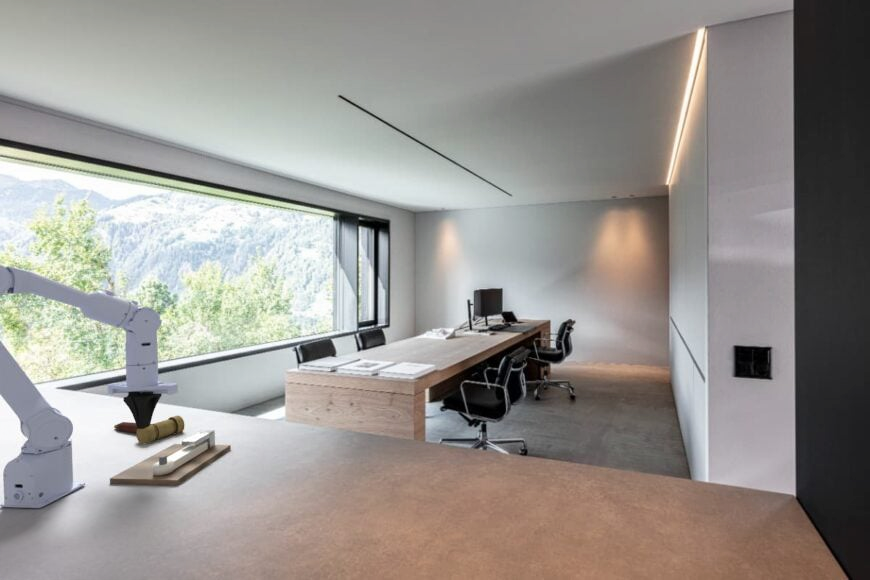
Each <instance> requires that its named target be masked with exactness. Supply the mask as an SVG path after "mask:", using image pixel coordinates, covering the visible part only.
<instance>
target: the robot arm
mask: <svg viewBox="0 0 870 580" xmlns="http://www.w3.org/2000/svg"><path fill="white" fill-rule="evenodd" d="M5 294H8V295H9V294H11V295H13V294H15V295H17V294H32V295H36V296H39V297H42V298H46V299H49V300H52V301H55V302H59V303H62V304H66V305H68V306H71V307H75V308H79V309H80V311H81V314H82V316H83V317H84V318H87V319H89V320H92V321H96V322H99V323H102V324H105V325H108V326H111V327H114V328H117V329H118V328H119V329H121V328H122V329H123V330H124V331H125V344H124V345H125V375H126V376H125V379H126V381H125V382H114V383H110V384H108V385H107V395H110V394H111V395H114V394H127V396H125V397H123V402H124V404H125V405H126V406H127V407H128V408H129V411H130V413H131V414H132V417H133V419H134V421H135V422H134V423H136V425H137V429H144V428H147V427H149V426H150V424H152V423H151V422H152V419H153V415H154V412H155V410H156V407H157V405H158V402H159V400H161V397H162V394H163V395H165V394H167V395H174V394H177V393H178V392H179V391H178V383H172V382H171V383H170V382H166V381H165V382H163V381H160V380H159V357H158V355H159V353H158V352H159V351H158V330H159V329H160V328H161V326H162V322H163V320H162V319H161V317H160V314H159V313H158V312H157V311H156V310H155V309H153V308H151V307H147V306H141V305H139V302H138V301H137V300H131V301H129V300H126V299H123V298H121V297H118V296H115V295H114V294H115V292H113V291H112V290H104V291H103V290H96V291H92V292H89V293H88V292H87V293H86V292H85V291H83V290H80V289H77V288H74V287H71V286H69V285H67V284H63V283H62V282H58V281H56V280H53V279H51V278H48V277H46V276H43V275H41V274H39V273H35V272H32V271H28V270H26V269H21V268H18V267H13V266H4V265H2V264H0V299H1V298H2V297H3V296H4V295H5ZM0 396H1V397H2V398H3V400H4V401H5V402H6V404H7V405H8V406H9V408H10V409H11V410H12V412H14V414H15V415H16V417H17V418H18V419H19V424H20V431H21V434H22V435H23V436H24V437H25V438H27V440H26V441H25V442H24V443H23V445H22V446H21V448H20V453H19V455H18V456H16V457H15V458H13V459H12V460H10V461H8V462H7V463H6V464H5V466H4V469H3V472H2V473H3V475H2V477H3V502H1V503H0V507H1V508H21V509H22V508H24V509H26V508H27V509H40V508H43V507H45V506H48V505H49V504H51V503H53V502H55V501H57V500H59V499H61V498H63V497H64V496H66V495H69V494H70V493H72V492H74V491H76V490H78V489H80V488H82V487H84V486H86V482H85V481H74V470H73V468H74V467H73V439H72V438H71V436H72V435H73V430H74V425H73V421H72V420H70V418H69V417H67V416H65V415H63V414H62V413H61V411H60V410H59V409H57V408H55V407H53V406H52V405H51V404H50V403H49V402H48V401H47V399H46V398H45V397H44V396H43V395H42V393H41V392H40V391H39V389H38V388H37V386H35V384H34V383H33V382H32V380H31V379H30V377H29V376H28V375H27V374H26V372H25V371H24V370H23V368H22V367H21V366H20V364H19V363H18V362H17V361H16V359H15V358H14V357H13V355H12V354H11V353H10V351H9V350H8V349H7V347H6V345H4V343H3V342H2V341H1V340H0Z"/></svg>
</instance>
